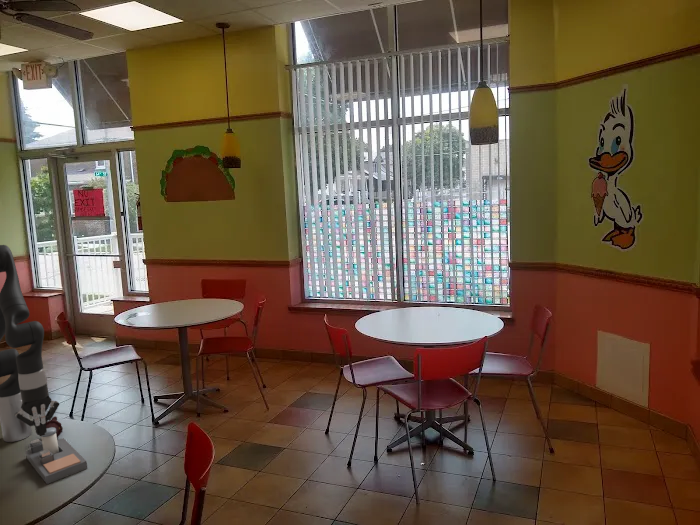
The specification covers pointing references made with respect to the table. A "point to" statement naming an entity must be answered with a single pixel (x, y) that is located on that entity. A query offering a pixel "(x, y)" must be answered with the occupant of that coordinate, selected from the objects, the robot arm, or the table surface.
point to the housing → (56, 461)
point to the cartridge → (50, 441)
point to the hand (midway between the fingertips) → (41, 434)
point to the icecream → (54, 425)
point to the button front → (45, 453)
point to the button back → (35, 442)
